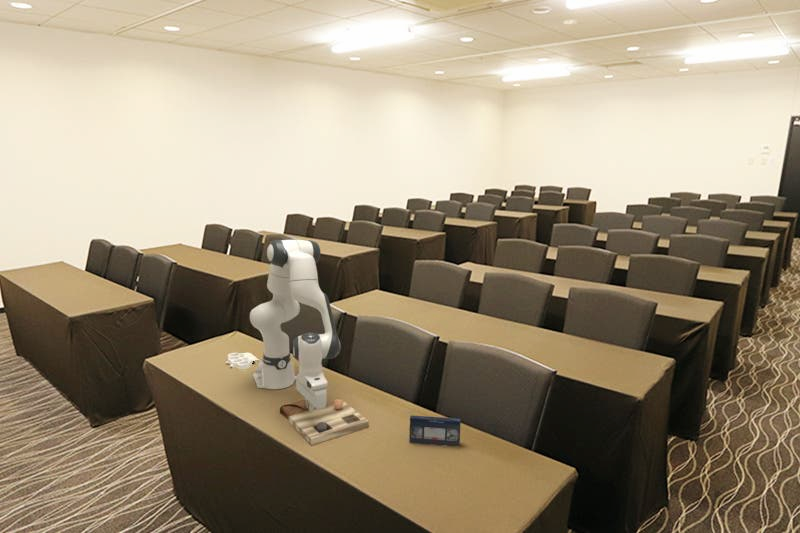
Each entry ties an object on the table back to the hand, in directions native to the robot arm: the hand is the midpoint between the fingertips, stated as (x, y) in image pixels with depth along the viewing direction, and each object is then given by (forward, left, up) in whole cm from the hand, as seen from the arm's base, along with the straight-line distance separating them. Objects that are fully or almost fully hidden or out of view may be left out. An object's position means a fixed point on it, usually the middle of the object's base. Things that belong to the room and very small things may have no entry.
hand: (310, 409), depth 198 cm
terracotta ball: (-1, +13, -2) cm, 13 cm away
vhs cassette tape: (+37, +32, -7) cm, 49 cm away
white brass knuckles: (-73, -2, -7) cm, 74 cm away
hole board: (+4, +6, -6) cm, 9 cm away
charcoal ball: (+8, +1, -4) cm, 9 cm away
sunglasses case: (-12, +3, -7) cm, 14 cm away
